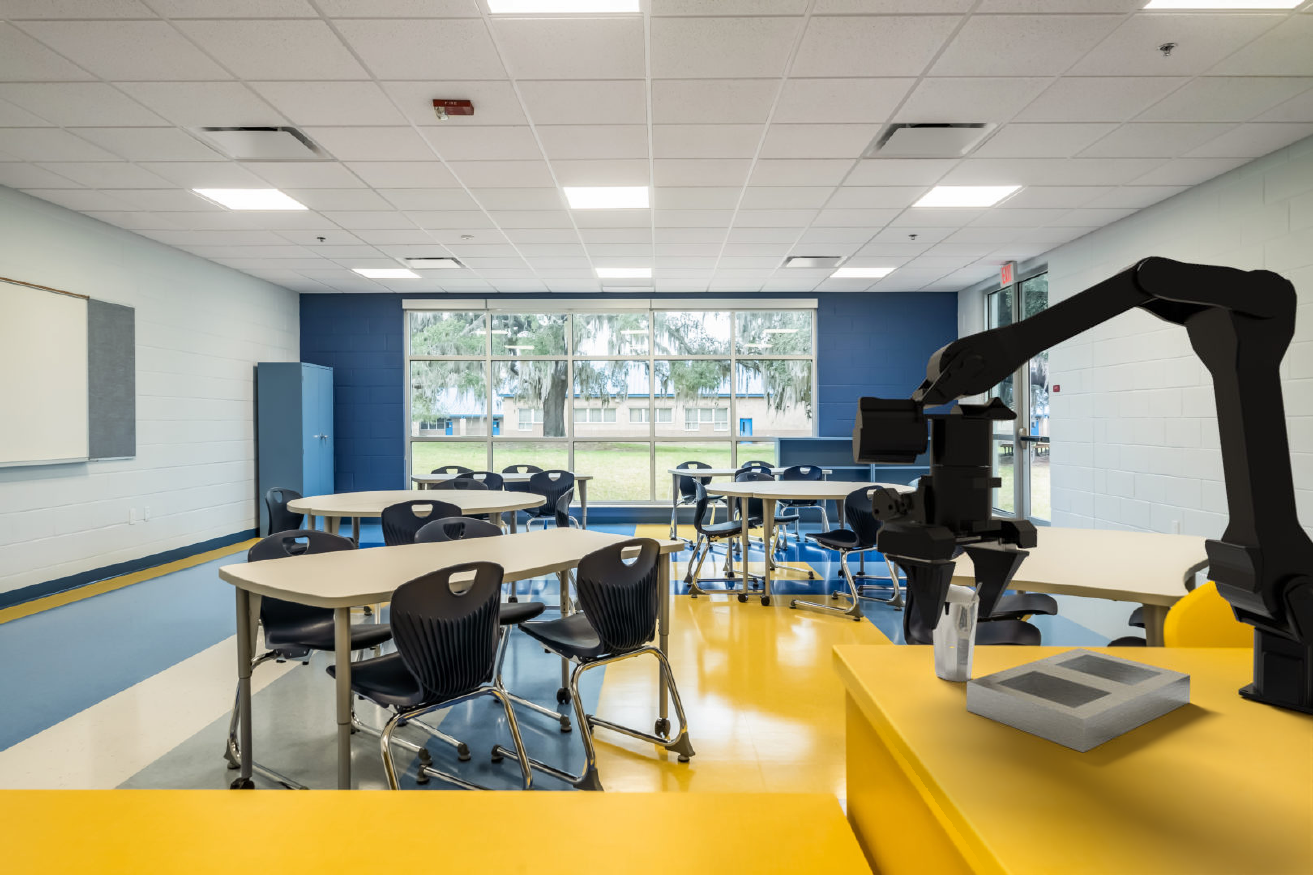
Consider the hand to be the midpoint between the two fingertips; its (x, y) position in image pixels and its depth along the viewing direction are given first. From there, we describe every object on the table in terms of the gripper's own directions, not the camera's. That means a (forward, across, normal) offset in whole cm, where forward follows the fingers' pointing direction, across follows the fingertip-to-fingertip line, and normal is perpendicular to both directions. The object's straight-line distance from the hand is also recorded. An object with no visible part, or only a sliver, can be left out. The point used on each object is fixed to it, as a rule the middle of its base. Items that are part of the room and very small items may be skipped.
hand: (958, 622), depth 68 cm
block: (+6, -3, +10) cm, 12 cm away
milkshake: (+6, 0, 0) cm, 6 cm away
